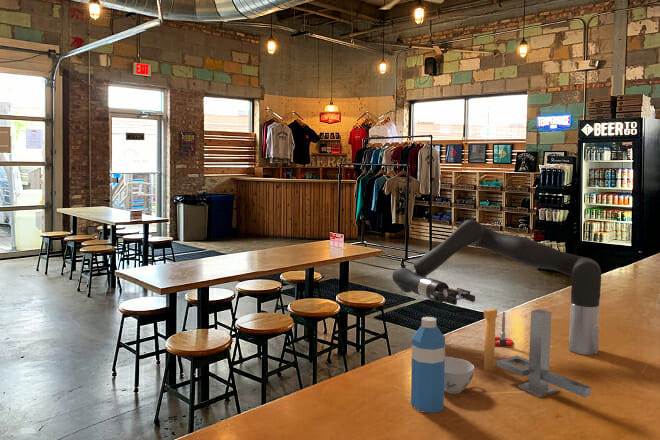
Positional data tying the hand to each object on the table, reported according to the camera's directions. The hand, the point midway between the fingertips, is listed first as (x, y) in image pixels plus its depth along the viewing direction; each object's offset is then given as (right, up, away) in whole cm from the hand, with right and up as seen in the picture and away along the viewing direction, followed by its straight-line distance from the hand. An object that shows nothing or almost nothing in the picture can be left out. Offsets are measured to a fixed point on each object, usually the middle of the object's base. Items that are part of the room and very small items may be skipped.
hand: (465, 300), depth 188 cm
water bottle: (-19, -25, -33) cm, 46 cm away
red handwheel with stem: (+18, -19, +19) cm, 32 cm away
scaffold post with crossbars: (+17, -24, -25) cm, 38 cm away
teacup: (-9, -24, -22) cm, 33 cm away
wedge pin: (+6, -22, -7) cm, 24 cm away
